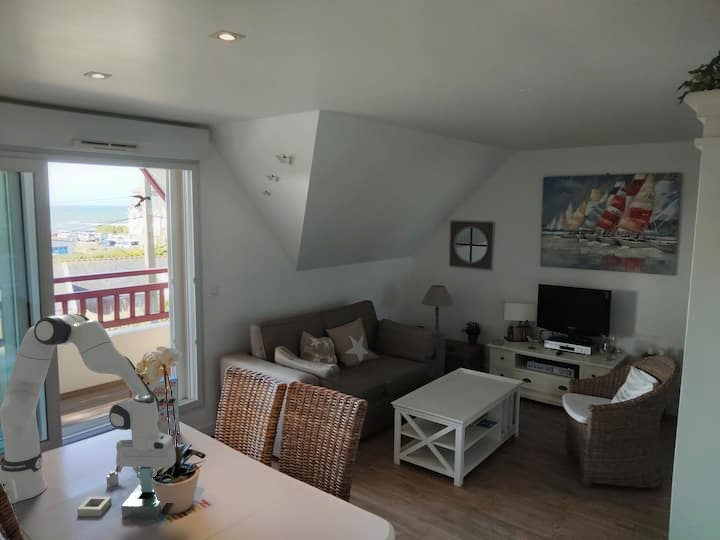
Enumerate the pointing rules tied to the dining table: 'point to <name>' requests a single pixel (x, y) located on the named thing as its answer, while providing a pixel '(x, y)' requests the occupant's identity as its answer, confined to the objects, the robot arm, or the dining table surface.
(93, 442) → the dining table surface
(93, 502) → the cream square frame
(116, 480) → the lighter
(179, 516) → the dining table surface
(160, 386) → the game box
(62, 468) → the dining table surface
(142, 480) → the plug
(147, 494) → the panel
